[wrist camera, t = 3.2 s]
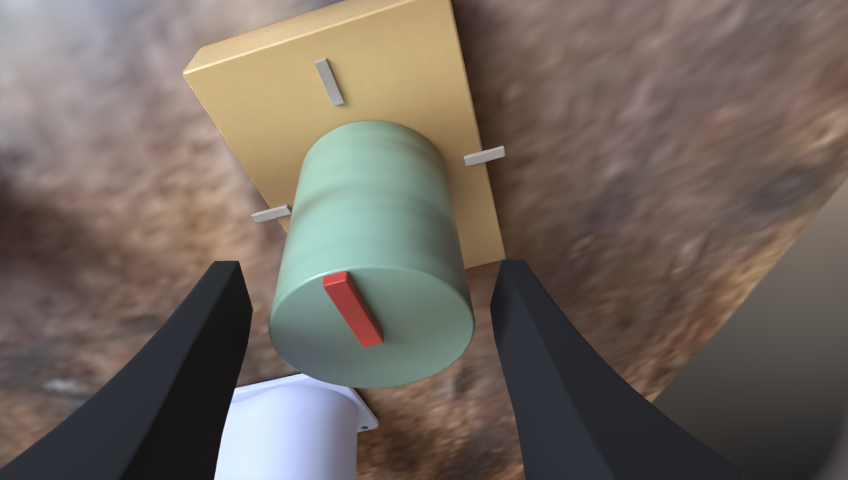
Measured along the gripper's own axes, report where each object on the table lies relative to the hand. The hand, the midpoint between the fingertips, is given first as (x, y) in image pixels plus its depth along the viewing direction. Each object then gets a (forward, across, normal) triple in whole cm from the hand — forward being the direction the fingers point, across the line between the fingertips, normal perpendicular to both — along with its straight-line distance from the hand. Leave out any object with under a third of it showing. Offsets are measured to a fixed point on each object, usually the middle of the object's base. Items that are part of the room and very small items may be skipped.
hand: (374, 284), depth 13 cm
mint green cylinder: (+5, 0, 0) cm, 5 cm away
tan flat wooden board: (+7, 0, 0) cm, 7 cm away
